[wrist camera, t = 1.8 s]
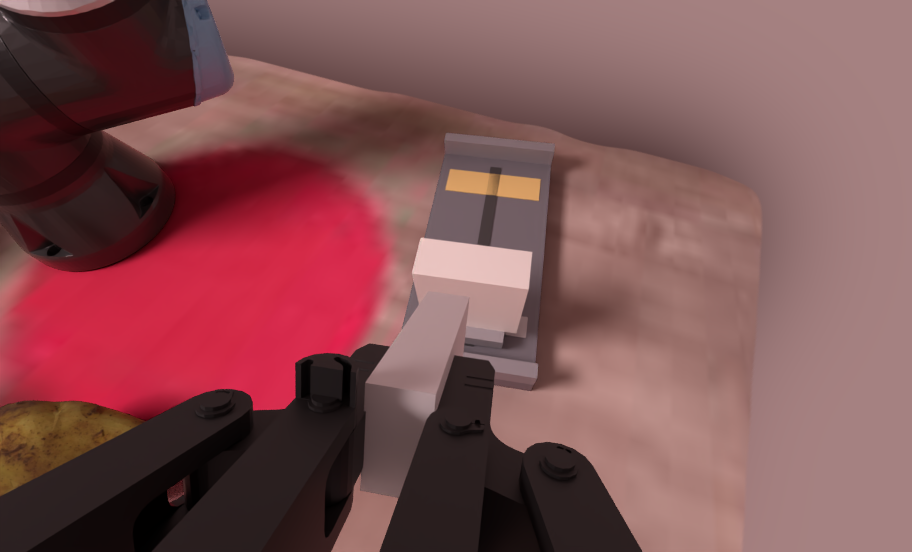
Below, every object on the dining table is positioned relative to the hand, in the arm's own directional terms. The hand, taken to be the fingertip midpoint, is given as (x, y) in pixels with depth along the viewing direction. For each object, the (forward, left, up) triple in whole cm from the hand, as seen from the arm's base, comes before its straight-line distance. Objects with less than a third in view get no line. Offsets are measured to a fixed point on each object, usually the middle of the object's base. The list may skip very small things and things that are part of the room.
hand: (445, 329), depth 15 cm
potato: (-16, -23, -23) cm, 36 cm away
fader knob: (-6, +7, -20) cm, 23 cm away
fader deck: (-11, +13, -23) cm, 29 cm away
